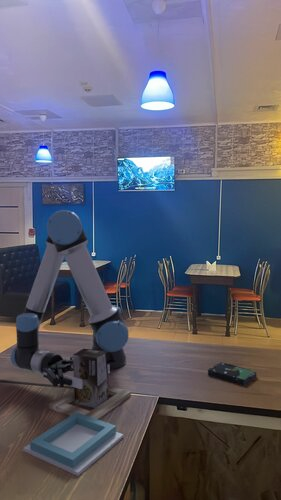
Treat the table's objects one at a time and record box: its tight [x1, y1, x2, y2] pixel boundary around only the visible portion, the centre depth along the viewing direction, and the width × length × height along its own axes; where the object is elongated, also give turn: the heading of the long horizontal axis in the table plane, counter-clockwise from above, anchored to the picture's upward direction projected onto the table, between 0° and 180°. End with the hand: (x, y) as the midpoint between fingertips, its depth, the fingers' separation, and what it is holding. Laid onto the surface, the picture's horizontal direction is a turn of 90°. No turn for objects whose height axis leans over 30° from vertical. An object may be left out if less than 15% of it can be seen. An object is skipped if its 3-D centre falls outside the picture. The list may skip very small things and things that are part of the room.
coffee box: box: [72, 348, 109, 409], centre depth 118 cm, size 9×6×16 cm
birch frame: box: [48, 385, 132, 420], centre depth 119 cm, size 17×20×2 cm
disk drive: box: [207, 361, 258, 387], centre depth 139 cm, size 10×3×15 cm
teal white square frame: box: [22, 412, 124, 477], centre depth 96 cm, size 18×18×3 cm
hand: (96, 376), depth 117 cm, fingers open, 13 cm apart
